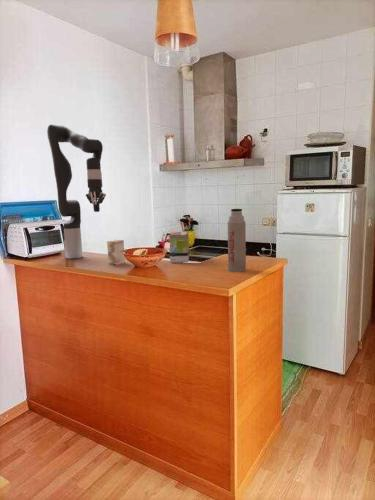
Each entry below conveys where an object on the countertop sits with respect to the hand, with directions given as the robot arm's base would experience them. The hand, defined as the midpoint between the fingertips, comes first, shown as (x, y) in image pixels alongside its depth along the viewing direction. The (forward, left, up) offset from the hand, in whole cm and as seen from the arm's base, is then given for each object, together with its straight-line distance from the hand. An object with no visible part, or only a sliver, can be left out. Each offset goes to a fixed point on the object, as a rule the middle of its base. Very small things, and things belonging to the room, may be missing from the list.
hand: (96, 211), depth 198 cm
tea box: (+38, +21, -27) cm, 51 cm away
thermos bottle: (+76, +11, -27) cm, 81 cm away
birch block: (+12, 0, -27) cm, 30 cm away
